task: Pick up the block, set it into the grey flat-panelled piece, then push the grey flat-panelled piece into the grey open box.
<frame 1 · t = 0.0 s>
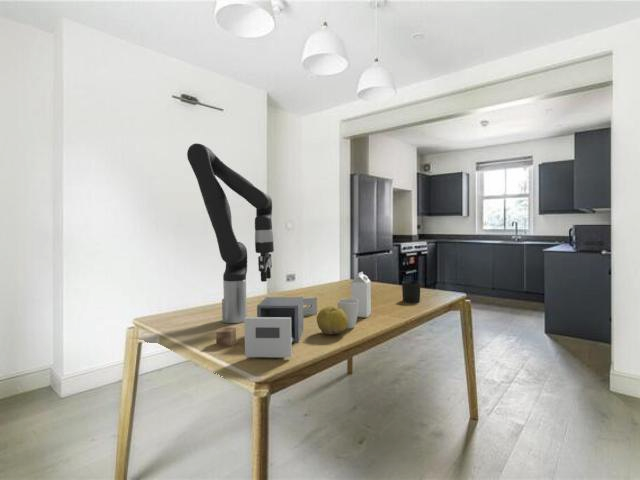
hand: (266, 279, 147), 17 cm above the table, tool pointing down, fingers open, 8 cm apart
cassette: (304, 316, 157), on the table
milk carton: (361, 316, 155), on the table
pen holder: (411, 301, 185), on the table
cup: (348, 327, 138), on the table
grey flat-panelled piece: (272, 330, 110), point 7 cm above the table, slide at 15.0 cm
fruit: (332, 334, 128), on the table
grey open box: (281, 335, 127), on the table
block: (226, 344, 118), on the table
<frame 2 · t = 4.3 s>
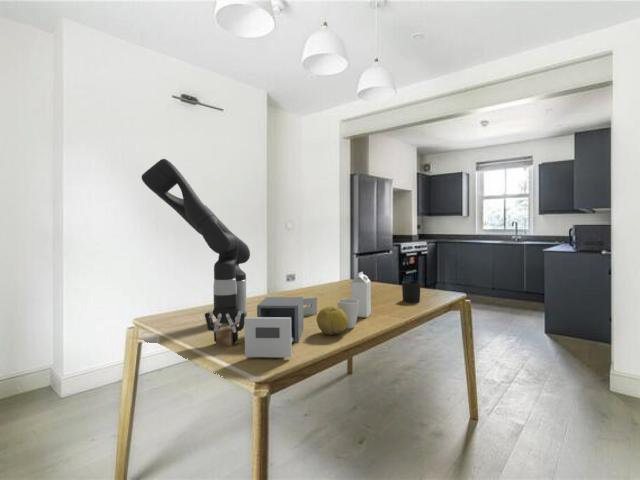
hand: (226, 342, 118), 0 cm above the table, tool pointing down, fingers closed on block, 5 cm apart
block: (226, 344, 118), on the table, touching gripper
everything else where it was.
when the fingers open (3 cm above the table, at t = 10.4 s): block stays where it is, resting on grey flat-panelled piece.
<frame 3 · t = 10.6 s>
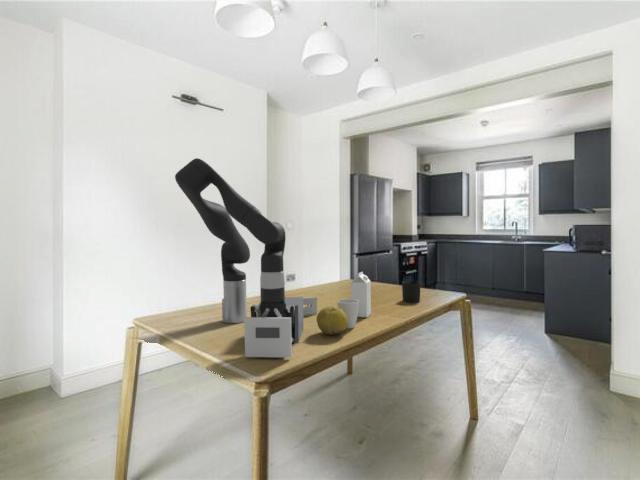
hand: (273, 338, 111), 4 cm above the table, tool pointing down, fingers open, 6 cm apart
grey flat-panelled piece: (272, 330, 110), point 7 cm above the table, slide at 15.0 cm, touching block
block: (272, 343, 111), point 2 cm above the table, touching grey flat-panelled piece
everything else where it was.
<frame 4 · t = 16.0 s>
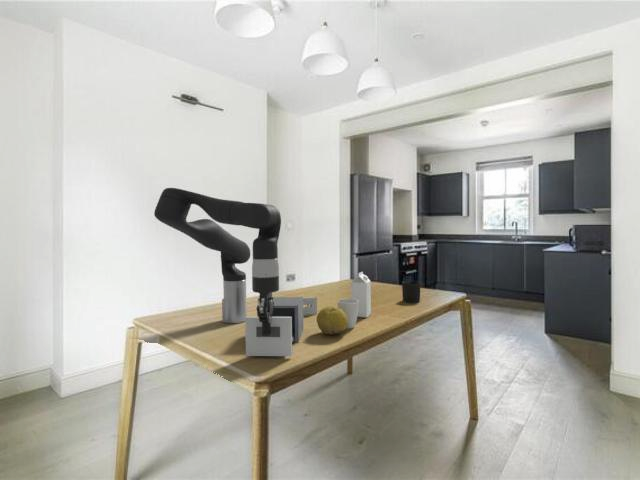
hand: (266, 334, 101), 8 cm above the table, tool pointing down, fingers closed
grey flat-panelled piece: (273, 329, 111), point 6 cm above the table, slide at 14.0 cm, touching block, gripper
everything else where it was.
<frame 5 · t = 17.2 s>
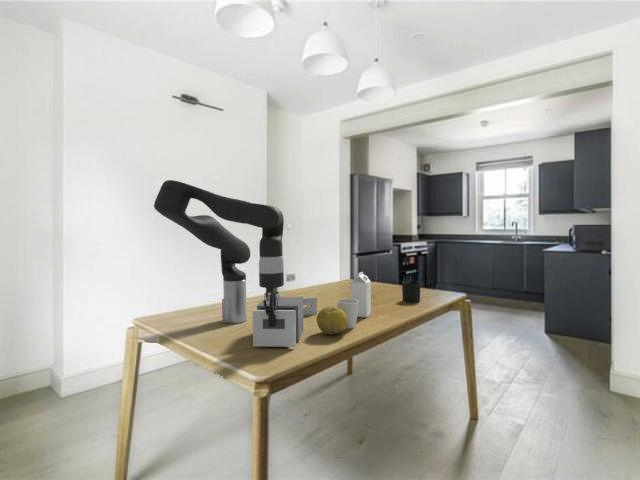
hand: (272, 326, 110), 8 cm above the table, tool pointing down, fingers closed
grey flat-panelled piece: (278, 322, 120), point 7 cm above the table, slide at 5.5 cm, touching block, gripper
block: (278, 334, 121), point 2 cm above the table, touching grey flat-panelled piece
everything else where it was.
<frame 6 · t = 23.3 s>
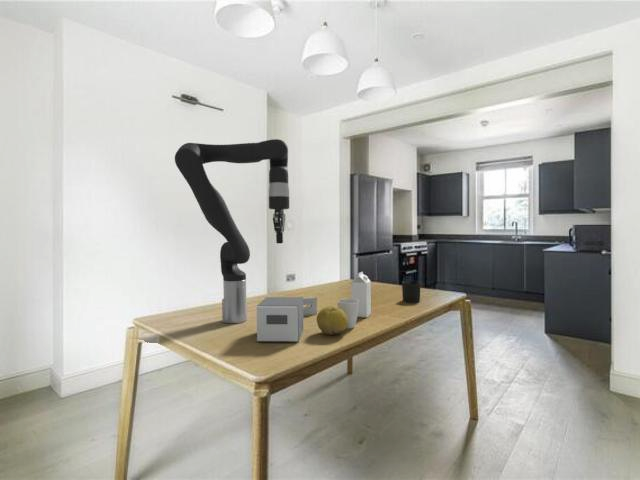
hand: (279, 243, 130), 33 cm above the table, tool pointing down, fingers closed
grey flat-panelled piece: (280, 318, 125), point 7 cm above the table, slide at 0.0 cm, touching block
block: (280, 330, 126), point 2 cm above the table, touching grey flat-panelled piece
everything else where it was.
at the end: grey flat-panelled piece slide at 0.0 cm; block inside the target area on the grey open box (0.4 cm from its centre), point 2.1 cm above the grey open box's base; block tilted 0° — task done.
